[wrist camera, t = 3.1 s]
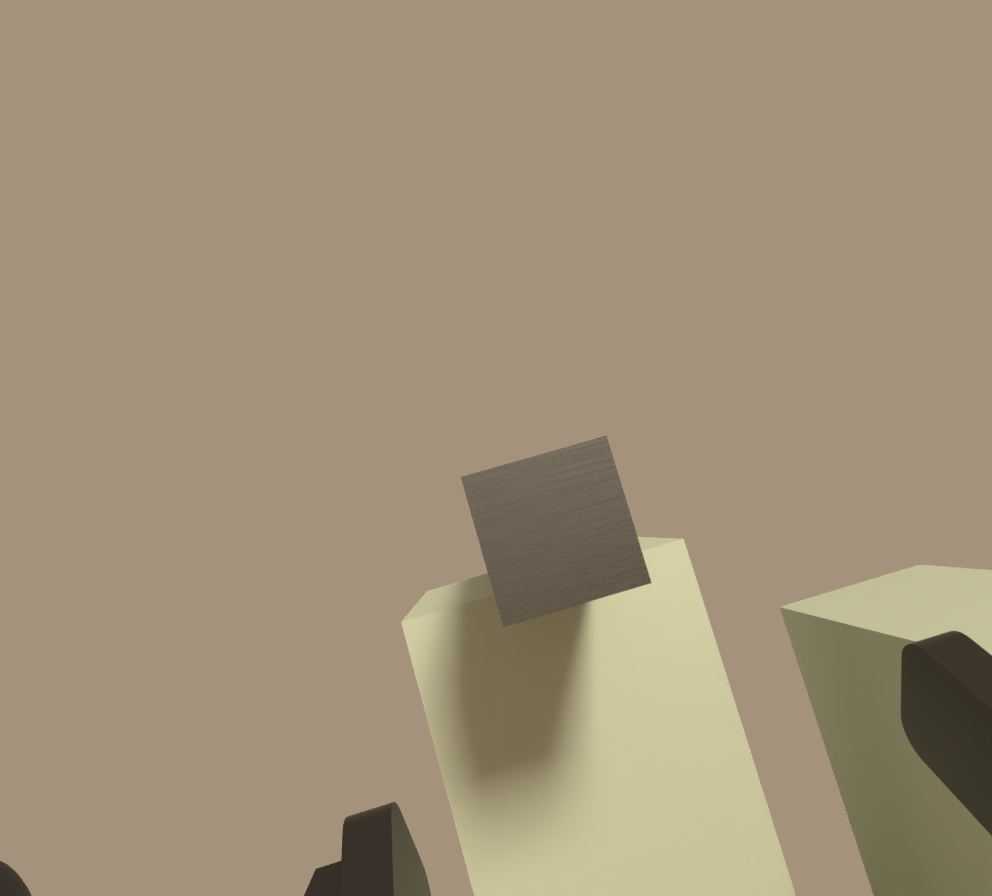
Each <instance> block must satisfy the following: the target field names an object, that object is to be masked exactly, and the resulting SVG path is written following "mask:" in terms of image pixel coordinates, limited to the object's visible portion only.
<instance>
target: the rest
mask: <svg viewBox="0 0 992 896" xmlns="http://www.w3.org/2000/svg"><path fill="white" fill-rule="evenodd" d="M780 609H781V613H782V616H783V619H784V622H785V625H786V628H787V631H788V634H789V637H790V640H791V643H792V646H793V649H794V652H795V655H796V658H797V662H798V664H799V668H800V671H801V674H802V677H803V679H804V683H805V686H806V689H807V692H808V695H809V698H810V701H811V704H812V708H813V711H814V714H815V717H816V720H817V723H818V726H819V729H820V732H821V735H822V738H823V741H824V744H825V747H826V750H827V754H828V757H829V759H830V763H831V766H832V769H833V772H834V775H835V778H836V781H837V784H838V787H839V790H840V793H841V796H842V800H843V802H844V806H845V808H846V812H847V815H848V818H849V821H850V824H851V827H852V830H853V833H854V836H855V839H856V842H857V845H858V849H859V851H860V855H861V858H862V861H863V864H864V867H865V870H866V873H867V876H868V879H869V882H870V885H871V888H872V891H873V894H874V896H992V836H991V835H990V834H989V832H988V831H987V830H986V829H985V828H984V827H983V826H982V825H981V824H980V823H979V822H978V820H977V819H976V818H975V817H974V816H973V815H972V814H971V813H970V812H969V811H968V810H967V808H966V807H965V806H964V805H963V804H962V803H961V802H960V801H959V800H958V799H957V798H956V796H955V795H954V794H953V793H952V792H951V791H950V790H949V789H948V788H947V787H946V786H945V784H944V783H943V782H942V781H941V780H940V779H939V778H938V777H937V776H936V775H935V774H934V772H933V771H932V770H931V769H930V768H929V767H928V766H927V765H926V764H925V763H924V762H923V760H922V759H921V758H920V757H919V756H918V754H917V753H916V752H915V750H914V749H913V747H912V745H911V744H910V742H909V740H908V738H907V736H906V734H905V731H904V728H903V725H902V721H901V659H902V650H903V648H904V647H905V646H906V645H907V644H910V643H914V642H917V641H920V640H923V639H926V638H930V637H933V636H936V635H939V634H943V633H946V632H949V631H958V632H961V633H963V634H965V635H967V636H968V637H969V638H971V639H972V640H973V641H974V642H976V643H977V644H978V645H979V646H981V647H982V648H983V649H984V650H986V651H987V652H988V653H989V654H991V655H992V570H982V569H969V568H956V567H942V566H930V565H917V566H914V567H910V568H907V569H904V570H900V571H897V572H894V573H890V574H887V575H884V576H881V577H877V578H874V579H871V580H867V581H864V582H861V583H858V584H854V585H851V586H848V587H844V588H841V589H838V590H835V591H832V592H828V593H825V594H822V595H818V596H815V597H812V598H808V599H805V600H802V601H798V602H795V603H792V604H788V605H785V606H782V607H780Z"/></svg>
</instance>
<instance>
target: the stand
mask: <svg viewBox="0 0 992 896" xmlns="http://www.w3.org/2000/svg"><path fill="white" fill-rule="evenodd" d="M638 540H639V544H640V547H641V550H642V553H643V557H644V560H645V563H646V566H647V570H648V573H649V576H650V579H651V583H650V584H647V585H643V586H640V587H637V588H633V589H630V590H627V591H623V592H620V593H616V594H613V595H610V596H606V597H603V598H600V599H596V600H593V601H590V602H586V603H583V604H580V605H576V606H573V607H570V608H566V609H563V610H560V611H556V612H553V613H549V614H546V615H543V616H539V617H536V618H533V619H529V620H526V621H523V622H519V623H516V624H513V625H509V626H506V627H503V624H502V621H501V617H500V613H499V610H498V606H497V603H496V599H495V596H494V592H493V589H492V585H491V582H490V578H489V575H488V574H484V575H481V576H477V577H474V578H471V579H467V580H464V581H461V582H457V583H454V584H451V585H447V586H443V587H440V588H437V589H433V590H430V591H427V592H426V593H425V594H424V595H423V597H422V598H421V599H420V600H419V601H418V603H417V604H416V605H415V606H414V607H413V609H412V610H411V611H410V612H409V614H408V615H407V616H406V617H405V618H404V620H403V621H402V622H401V623H402V627H403V631H404V634H405V638H406V642H407V646H408V649H409V653H410V657H411V661H412V664H413V668H414V672H415V676H416V679H417V683H418V687H419V691H420V694H421V698H422V702H423V706H424V709H425V713H426V717H427V721H428V724H429V728H430V732H431V736H432V739H433V743H434V747H435V751H436V754H437V758H438V762H439V766H440V769H441V773H442V777H443V780H444V784H445V788H446V792H447V796H448V799H449V803H450V807H451V810H452V814H453V818H454V822H455V825H456V829H457V833H458V836H459V840H460V844H461V848H462V851H463V855H464V859H465V863H466V867H467V870H468V874H469V878H470V881H471V885H472V889H473V893H474V896H796V895H795V892H794V889H793V885H792V882H791V879H790V876H789V873H788V869H787V867H786V863H785V860H784V857H783V854H782V851H781V847H780V844H779V841H778V838H777V835H776V831H775V828H774V825H773V822H772V819H771V815H770V812H769V809H768V806H767V803H766V800H765V796H764V793H763V790H762V787H761V784H760V781H759V777H758V774H757V771H756V768H755V765H754V761H753V758H752V755H751V752H750V749H749V746H748V742H747V739H746V736H745V733H744V730H743V726H742V723H741V720H740V717H739V714H738V711H737V707H736V705H735V701H734V698H733V695H732V691H731V688H730V685H729V682H728V679H727V676H726V673H725V669H724V666H723V663H722V660H721V657H720V653H719V650H718V647H717V644H716V641H715V638H714V634H713V631H712V628H711V625H710V622H709V618H708V615H707V612H706V609H705V606H704V602H703V599H702V596H701V593H700V590H699V587H698V583H697V580H696V577H695V574H694V571H693V568H692V565H691V561H690V558H689V555H688V552H687V548H686V545H685V542H684V539H673V538H648V537H646V538H645V537H638Z"/></svg>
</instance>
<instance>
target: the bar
mask: <svg viewBox="0 0 992 896" xmlns="http://www.w3.org/2000/svg"><path fill="white" fill-rule="evenodd" d="M461 479H462V482H463V486H464V490H465V493H466V497H467V500H468V504H469V507H470V511H471V514H472V518H473V521H474V525H475V528H476V532H477V536H478V539H479V543H480V546H481V550H482V553H483V557H484V560H485V564H486V567H487V570H488V575H489V578H490V582H491V585H492V589H493V592H494V596H495V599H496V603H497V606H498V610H499V613H500V617H501V621H502V624H503V627H506V626H509V625H513V624H516V623H519V622H523V621H526V620H529V619H533V618H536V617H539V616H543V615H546V614H549V613H553V612H556V611H560V610H563V609H566V608H570V607H573V606H576V605H580V604H583V603H586V602H590V601H593V600H596V599H600V598H603V597H606V596H610V595H613V594H616V593H620V592H623V591H627V590H630V589H633V588H637V587H640V586H643V585H647V584H650V583H651V579H650V576H649V573H648V570H647V566H646V563H645V560H644V557H643V553H642V550H641V547H640V544H639V540H638V537H637V534H636V531H635V527H634V524H633V521H632V518H631V515H630V511H629V508H628V505H627V501H626V498H625V495H624V492H623V488H622V485H621V482H620V479H619V476H618V472H617V469H616V466H615V462H614V460H613V456H612V453H611V449H610V446H609V443H608V440H607V436H604V437H600V438H597V439H594V440H590V441H586V442H583V443H579V444H576V445H573V446H569V447H565V448H562V449H558V450H555V451H551V452H548V453H544V454H541V455H537V456H534V457H530V458H527V459H523V460H520V461H516V462H513V463H509V464H505V465H502V466H499V467H495V468H492V469H488V470H484V471H481V472H477V473H474V474H470V475H467V476H463V477H461Z"/></svg>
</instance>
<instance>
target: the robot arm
mask: <svg viewBox="0 0 992 896" xmlns="http://www.w3.org/2000/svg"><path fill="white" fill-rule="evenodd" d="M901 721H902V725H903V728H904V731H905V734H906V736H907V738H908V740H909V742H910V744H911V745H912V747H913V749H914V750H915V752H916V753H917V754H918V756H919V757H920V758H921V759H922V760H923V762H924V763H925V764H926V765H927V766H928V767H929V768H930V769H931V770H932V771H933V772H934V774H935V775H936V776H937V777H938V778H939V779H940V780H941V781H942V782H943V783H944V784H945V786H946V787H947V788H948V789H949V790H950V791H951V792H952V793H953V794H954V795H955V796H956V798H957V799H958V800H959V801H960V802H961V803H962V804H963V805H964V806H965V807H966V808H967V810H968V811H969V812H970V813H971V814H972V815H973V816H974V817H975V818H976V819H977V820H978V822H979V823H980V824H981V825H982V826H983V827H984V828H985V829H986V830H987V831H988V832H989V834H990V835H991V836H992V655H991V654H989V653H988V652H987V651H986V650H984V649H983V648H982V647H981V646H979V645H978V644H977V643H976V642H974V641H973V640H972V639H971V638H969V637H968V636H967V635H965V634H963V633H961V632H958V631H949V632H946V633H943V634H939V635H936V636H933V637H930V638H926V639H923V640H920V641H917V642H914V643H910V644H907V645H906V646H905V647H904V648H903V650H902V659H901ZM342 837H343V838H342V860H341V861H340V862H337V863H333V864H330V865H327V866H324V867H321V868H317V869H316V870H315V872H314V874H313V877H312V879H311V881H310V884H309V886H308V888H307V890H306V893H305V895H304V896H431V894H430V888H429V884H428V880H427V876H426V872H425V869H424V866H423V864H422V861H421V859H420V856H419V854H418V852H417V849H416V847H415V845H414V842H413V840H412V837H411V835H410V832H409V830H408V828H407V825H406V823H405V820H404V818H403V816H402V813H401V811H400V809H399V807H398V805H397V804H396V803H395V802H393V803H389V804H386V805H383V806H380V807H377V808H373V809H370V810H367V811H364V812H360V813H357V814H354V815H351V816H348V817H346V818H345V821H344V825H343V836H342ZM0 896H31V894H30V892H29V890H28V888H27V886H26V885H25V883H24V882H23V881H22V879H21V878H20V876H19V875H18V874H17V873H16V872H15V871H14V870H13V869H12V868H11V867H9V866H8V865H7V864H5V863H3V862H1V861H0Z"/></svg>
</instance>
